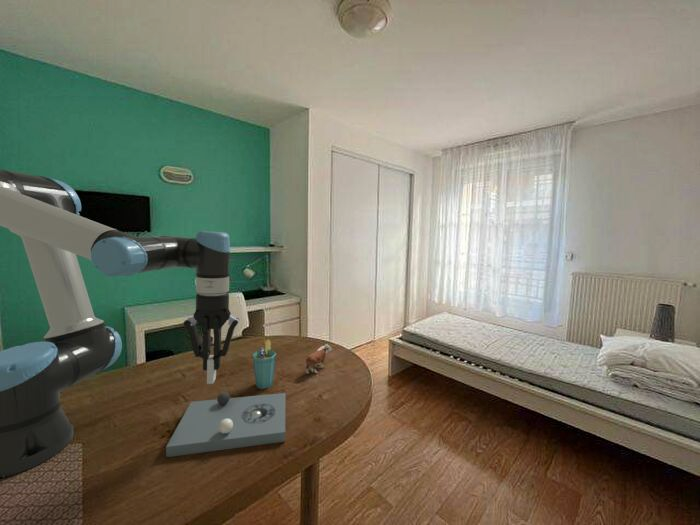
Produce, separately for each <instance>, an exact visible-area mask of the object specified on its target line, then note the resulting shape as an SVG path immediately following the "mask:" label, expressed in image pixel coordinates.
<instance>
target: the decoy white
mask: <svg viewBox="0 0 700 525" xmlns="http://www.w3.org/2000/svg"><path fill="white" fill-rule="evenodd" d="M232 428H233V422H232V420H231V419H228V418H227V419H224V420H222V421H221V422H220V424H219V431H220V432H221V433H222V434H226V433H229V432H230V431H231V430H232Z"/></svg>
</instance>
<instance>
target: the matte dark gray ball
mask: <svg viewBox="0 0 700 525" xmlns="http://www.w3.org/2000/svg"><path fill="white" fill-rule="evenodd" d="M230 398H231V397H230V394H229V392H226V391H223V392H220V393H219V394H218V395H217V398H216V399H217V401H218V403H219V404H221V405H224V404H226V403H227V402H228V401H229V399H230Z"/></svg>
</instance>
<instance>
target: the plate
mask: <svg viewBox="0 0 700 525" xmlns="http://www.w3.org/2000/svg"><path fill="white" fill-rule="evenodd" d="M255 410H259V411H260V412H261V413H262V418H260V419H254V418H251V417H250V415H251V413H252V412H253V411H255ZM227 418H228V419H231V420H232V422H233V428H232V430H231V431H230V432H229V433H226V434H222V433H221V432H220V431H219V424H220V422H221V421H222V420H224V419H227ZM284 442H286V392H279V393H272V394H271V393H270V394H269V393H268V394H260V395H259V394H258V395H248V396H240V397H239V396H238V397H230V399H229V401H228V402H227V403H226V404H224V405H221V404H219V403H218V401H217V398H216V399H206V400H205V399H204V400H197V401H190V403H189V405H188V406H187V409H186V410H185V413H184V414H183V416H182V417H181V420H180V422H178V424H177V427H176V428H175V430H174V432H173V434H172V436H171V437H170V439H169V441H168V443H167V444H166V447H165V452H166V453H165V454H166V455H165V456H166V458H169V457H171V458H172V457H178V456H179V457H180V456H185V455H187V456H188V455H193V454H200V453H201V454H202V453H208V452H217V451H225V450H229V449H237V448H238V449H239V448H246V447H254V446H260V445H261V446H262V445H268V444H278V443H284Z"/></svg>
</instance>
